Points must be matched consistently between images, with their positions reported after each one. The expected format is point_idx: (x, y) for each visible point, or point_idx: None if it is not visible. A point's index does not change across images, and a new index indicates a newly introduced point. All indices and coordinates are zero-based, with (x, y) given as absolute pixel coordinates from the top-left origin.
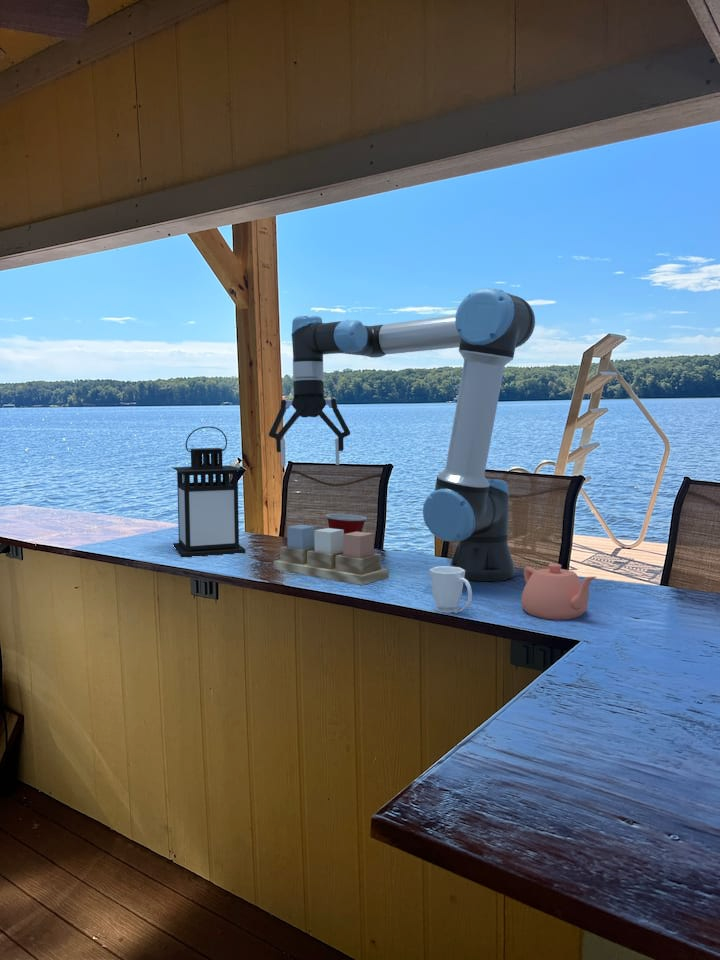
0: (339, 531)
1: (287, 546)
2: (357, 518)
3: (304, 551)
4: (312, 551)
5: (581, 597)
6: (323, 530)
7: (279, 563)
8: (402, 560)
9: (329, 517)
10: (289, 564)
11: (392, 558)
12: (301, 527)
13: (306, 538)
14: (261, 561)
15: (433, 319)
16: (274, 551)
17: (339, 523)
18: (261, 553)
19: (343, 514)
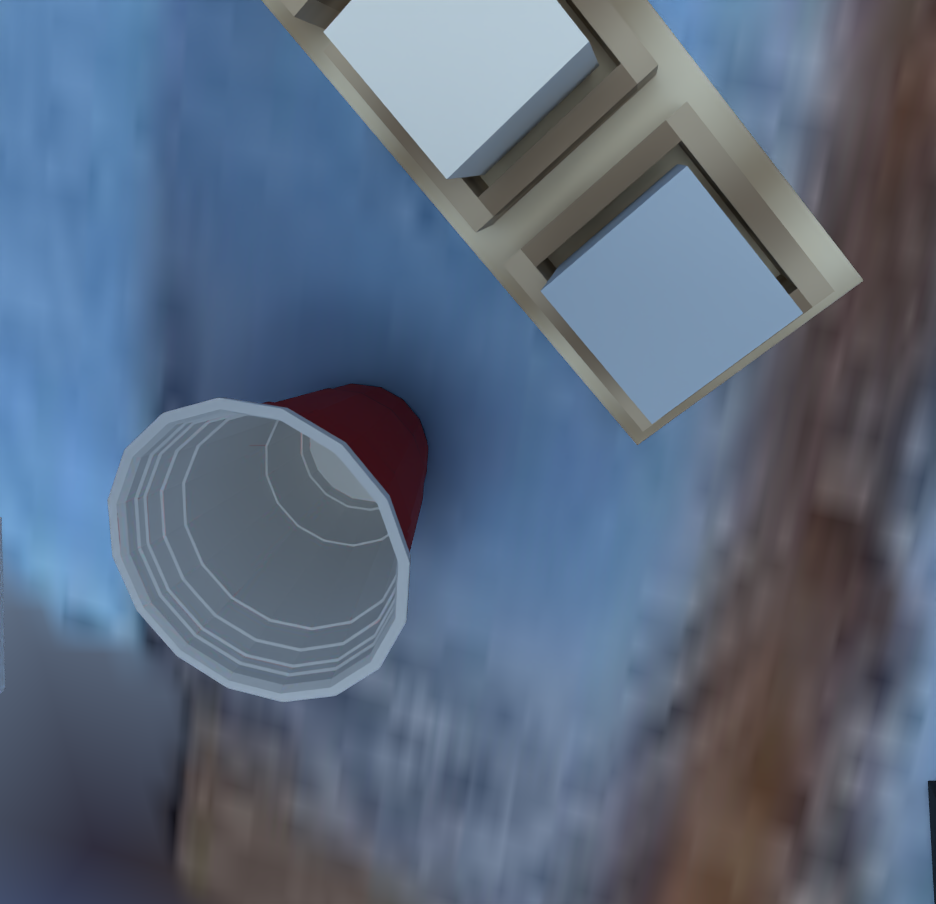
0: None
1: None
2: (181, 616)
3: (669, 117)
4: (617, 44)
5: None
6: (505, 26)
7: (826, 233)
8: (66, 362)
9: (390, 504)
10: (768, 158)
11: (114, 427)
12: (678, 253)
13: (640, 200)
14: (878, 528)
15: None
16: (739, 779)
17: (328, 430)
18: (829, 748)
19: (267, 685)
